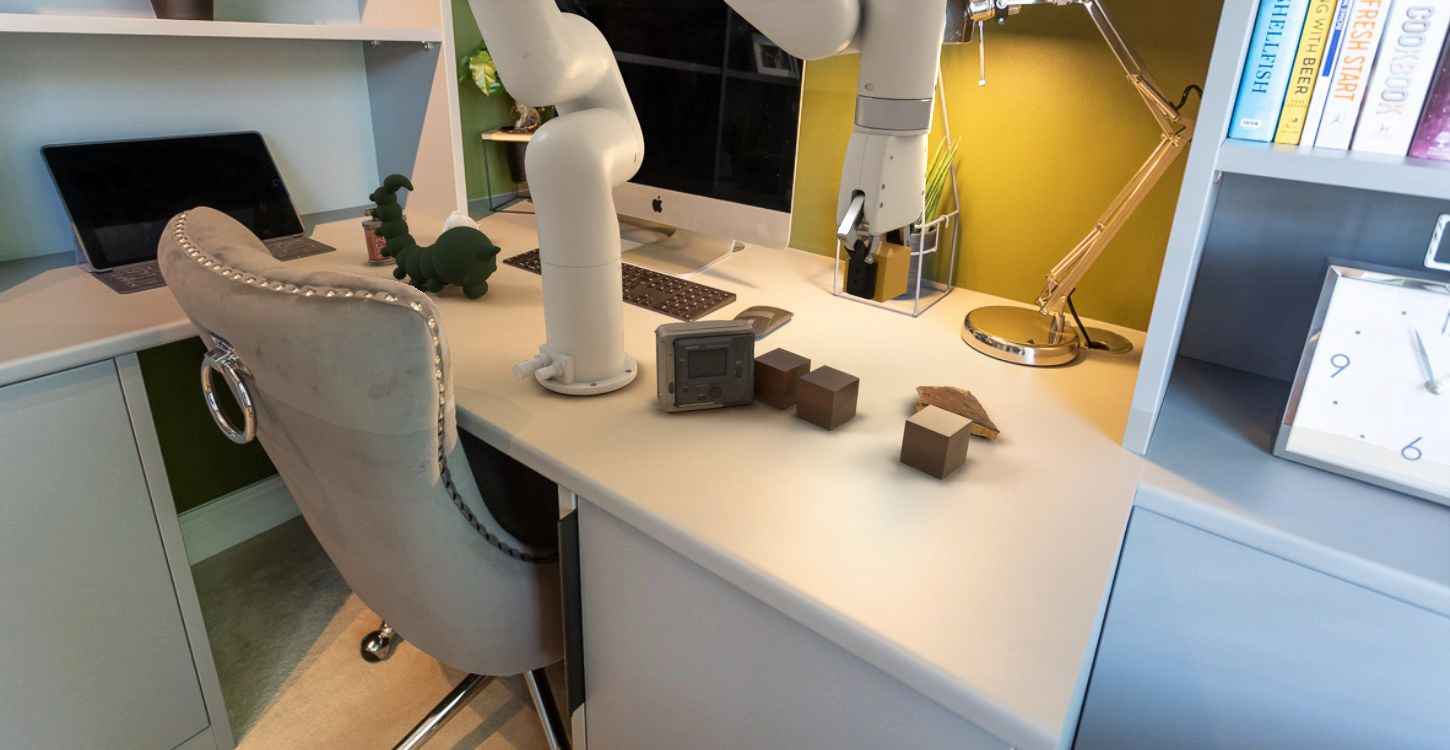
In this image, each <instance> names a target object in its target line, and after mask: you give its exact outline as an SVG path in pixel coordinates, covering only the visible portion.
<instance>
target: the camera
mask: <svg viewBox="0 0 1450 750" xmlns="http://www.w3.org/2000/svg"><path fill="white" fill-rule="evenodd" d="M754 328H755V327H754V326H753V325H752V324H751V323H750V322H749V320H746V319H710V320H696V321H681V322H669V323H662V324H660V325H658V326H657V328H656V329H654V331H653V332H654V334H655V366H656V367H655V368H656V398H657V400H658V403H659V405H660V407H661V410H663V412H665V413H672V412H682V411H693V410H703V409H712V408H713V409H714V408H721V407H722V408H723V407H731V406H738V405H750V404H752V403H753V399H754V397H753V387H754V358H755V347H756V334H755V332H754Z"/></svg>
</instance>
